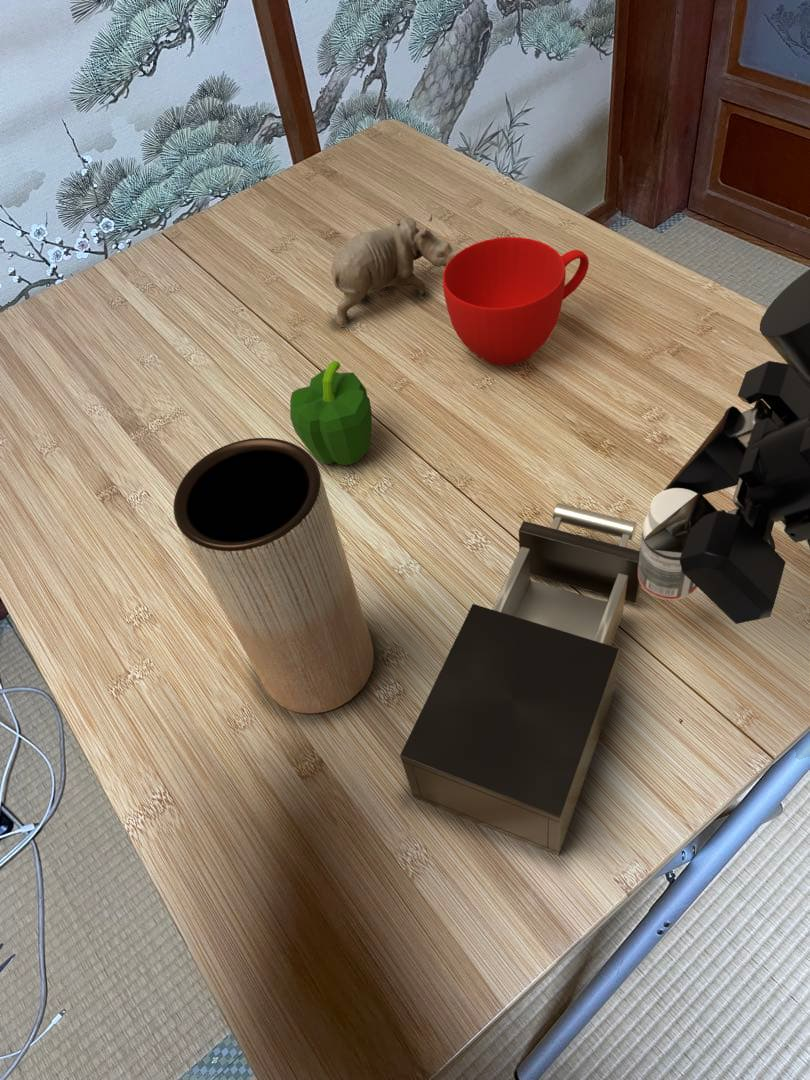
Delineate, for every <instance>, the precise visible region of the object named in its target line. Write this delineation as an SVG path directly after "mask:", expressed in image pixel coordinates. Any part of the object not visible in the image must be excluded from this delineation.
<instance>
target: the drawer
mask: <svg viewBox="0 0 810 1080" xmlns="http://www.w3.org/2000/svg"><path fill="white" fill-rule="evenodd" d="M552 520H553V521H552V522H551V525H550V527H549V526H545V525H541V524H537V523H533V522H529V521H527V520H523V521H522V523H521V525H520V527H519V530H518V546H519V547H518V548H519V550H518V552H517V555H516V556H515V558H514V560H513V563H512V565H511V567H510V570H509V571H508V574H507V576H506V578H505V581H504V582H503V585H502V587H501V588H500V591H499V594H498V596H497V597H496V600H495V603H494V604H493V606H492V610H495V611H498V612H502V613H505V614H508V615H511V616H515V617H518V618H521V619H525V620H528V621H531V622H534V623H538V624H541V625H544V626H548V627H551V628H554V629H557V630H561V631H564V632H567V633H571V634H574V635H577V636H580V637H584V638H587V639H590V640H594V641H597V642H600V643H603V644H607V645H610V646H613V642H614V639H615V636H616V633H617V630H618V628H619V626H620V622H621V620H622V617H623V614H624V610H625V603H627V602H628V603H631V604H634V605H635V604H636V603H637V601H638V598H639V595H640V591H641V584H640V582H639V579H638V563H639V554H640V550H637V549H635V548H634V549H633V548H630V547H627V546H628V544H629V541H633V539H634V537H635V534H636V530H637V522H636V521H632V520H628V519H625V518H621V517H616V516H612V515H608V514H604V513H600V512H596V511H592V510H588V509H584V508H580V507H576V506H572V505H568V504H565V503H564V504H563V503H560V502H558V503H556V505H555V507H554V510H553V513H552ZM562 524H566V525H569V526H573V527H576V528H581V529H585V530H588V531H593V532H597V533H601V534H604V535H609V536H612V537H615V538H616V537H617V538H619V539H620V540H619V542H618V544H614V543H611V542H606V541H602V540H599V539H595V538H591V537H588V536H584V535H580V534H576V533H572V532H568V531H564V530H560V527H561V525H562ZM531 575H532V576H536V577H540V578H543V579H546V580H550V581H554V582H557V583H560V584H564V585H568V586H571V587H575V588H578V589H582V590H585V591H589V592H592V593H596V594H600V595H603V596H607V597H608V600H607V601H604V600H601V599H599V598H595V597H592V596H589V595H584V594H581V593H578V592H573V591H570V590H567V589H563V588H560V587H556V586H553V585H549V584H546V583H543V582H539V581H535V580H531V579H532V578H531Z"/></svg>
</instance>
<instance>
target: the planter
mask: <svg viewBox="0 0 810 1080" xmlns="http://www.w3.org/2000/svg"><path fill="white" fill-rule="evenodd" d="M330 503H331V502H330V501H329V497H328V493H327V491H326V487H325V484H324V481H323V478H322V474H321V471H320V469H319V466H318V464H317V463H316V461H315V459H314V458H313V457H312V456H311V454H309V452H307V451H306V450H305V449H303V448H302V447H301V446H299V445H297V444H295V443H293V442H290V441H287V440H284V439H280V438H273V437H255V438H254V437H253V438H246V439H242V440H238V441H234V442H231V443H229V444H226V445H223V446H221V447H218V448H216V449H215V450H213V451H211V452H210V453H208V454H206V455H205V456H204V457H203V458H201V459H200V460H198V461H197V462H196V463H195V464H194V465H193V466H192V467H191V468H190V469H189V470H188V471H187V472H186V474H185V475H184V477H183V478H182V479H181V481H180V483H179V485H178V487H177V489H176V492H175V495H174V498H173V506H172V507H173V508H172V509H173V517H174V521H175V523H176V526H177V528H178V530H179V532H180V534H181V536H182V537H183V539H184V542H185V544H186V545H187V547H188V548H189V551H190V552H191V555H192V556H193V558H194V560H195V561H196V563H197V566H198V567H199V569H200V571H201V572H202V575H203V576H204V578H205V580H206V582H207V584H208V586H209V588H210V589H211V591H212V593H213V595H214V597H215V599H216V601H217V602H218V604H219V606H220V608H221V610H222V611H223V613H224V615H225V617H226V619H227V621H228V623H229V625H230V626H231V628H232V630H233V632H234V634H235V635H236V638H237V640H238V641H239V643H240V645H241V646H242V649H243V651H244V652H245V654H246V656H247V658H248V660H249V662H250V664H251V665H252V667H253V670H254V671H255V673H256V675H257V677H258V678H259V680H260V682H261V684H262V685H263V687H264V689H265V690H266V691H267V693H268V695H269V696H270V697H271V698H272V699H273V700H274V701H275V702H276V703H277V704H279V705H280V706H281V707H283V708H285V709H287V710H289V711H292V712H295V713H301V714H319V713H324V712H328V711H329V712H330V711H331V710H335V709H337V708H340V707H341V706H343V705H345V704H346V703H348V702H349V701H351V700H352V699H353V698H355V697H356V695H358V693H360V692H361V690H362V689H363V688H364V686H365V685H366V683H367V681H368V680H369V677H370V676H371V673H372V670H373V667H374V661H375V660H374V659H375V658H374V657H375V655H374V646H373V642H372V637H371V634H370V631H369V627H368V625H367V624H368V623H367V621H366V617H365V615H364V611H363V608H362V605H361V602H360V598H359V595H358V592H357V588H356V585H355V582H354V578H353V576H352V575H353V574H352V572H351V569H350V565H349V562H348V559H347V556H346V552H345V549H344V546H343V542H342V540H341V539H342V538H341V536H340V533H339V530H338V526H337V523H336V520H335V517H334V516H335V515H334V513H333V510H332V507H331V504H330Z"/></svg>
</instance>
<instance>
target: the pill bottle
mask: <svg viewBox="0 0 810 1080" xmlns="http://www.w3.org/2000/svg"><path fill="white" fill-rule="evenodd" d="M695 495H697V493H695V492H693V491H691V490H688V489H683V488H672V489H667V490H664V489H663V490H662V491H660V492H658V493H657V494H656V495H655V496H654V497H653V499H652V500H651V502H650V505H649V510H648V513H647V515H646V516H645V518H644V519H643V522H642V529H641V535H640V547H639V551H640V554H639V563H638V579H639V582H640V584H641V585H640V587H641V588H643V590H644V591H645V592H646V593H648V594H649V595H650V596H652V597H654V598H657V599H659V600H663V601H678V600H682V599H685V598H687V597H689V596H691V595H693V594H694V593H695V592H696V590H697V589H698V587H697V586H696V585H695V584H694V583H693V582H692V581H691V580H690V579H689V578H688V577H687V576H686V575H685V574H684V573H683V571H682V568H681V564H680V560H679V559H680V557H681V554H682V553H677V552H668V551H659V550H653V549H652V548H650V547H649V546H648V545H647V544H646V543H645V541H644V540H645V537H646V536H647V535H648V534H649V533H650V532H651V531H652V530H654V529H655V528H656V527H657V526H658V525H659V524H661V523H662V522H663V521H664V520H666V519H667V518H668V517H669V516H671V515H672V514H673V513H674V512H676V511H677V510H678V509H679V508H681V507H682V506H683V505H684V504H685V503H687V502H688V501H689V500H690V499H692V498H693V497H694V496H695Z"/></svg>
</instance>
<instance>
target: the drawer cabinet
mask: <svg viewBox="0 0 810 1080" xmlns="http://www.w3.org/2000/svg"><path fill="white" fill-rule="evenodd" d="M492 609H493V608H492ZM492 609H491V608H488V607H486V606H481V605H479V604H475V603H472V604H471V606H470V608H469V610H468V612H467V615H466V617H465V619H464V621H463V623H462V626H461V627H460V629H459V631H458V633H457V635H456V638H455V640H454V642H453V644H452V645H451V648H450V650H449V652H448V654H447V657H446V659H445V661H444V663H443V664H442V667H441V669H440V671H439V673H438V675H437V677H436V679H435V681H434V684H433V686H432V687H431V690H430V692H429V694H428V696H427V699H426V700H425V703H424V704H423V707H422V709H421V710H420V713H419V715H418V717H417V719H416V721H415V723H414V725H413V728H412V729H411V732H410V734H409V736H408V738H407V740H406V742H405V744H404V747H403V748H402V751H401V753H400V755H399V757H400V760H401V763H402V766H403V769H404V773H405V775H406V779H407V781H408V785H409V789H410V790H411V791H410V792H411V794H412V797H413V798H415V799H417V800H419V801H422V802H424V803H426V804H429V805H432V806H435V807H436V808H439V809H442V810H444V811H446V812H449V813H452V814H454V815H457V816H458V817H462V818H464V819H467V820H468V821H471V822H474V823H476V824H478V825H482V826H484V827H486V828H489V829H491V830H494V831H496V832H498V833H501V834H503V835H506V836H509V837H511V838H513V839H516V840H519V841H522V842H523V843H526V844H529V845H531V846H533V847H536V848H538V849H541V850H544V851H545V852H548V853H551V854H553V855H556V856H559V855H560V853H561V850H562V847H563V845H564V841H565V839H566V835H567V832H568V829H569V826H570V823H571V820H572V817H573V815H574V812H575V810H576V809H575V808H576V806H577V803H578V799H579V797H580V795H581V791H582V789H583V785H584V782H585V780H586V776H587V773H588V770H589V768H590V766H591V762H592V758H593V756H594V753H595V750H596V748H597V745H598V741H599V739H600V736H601V732H602V729H603V727H604V723H605V721H606V718H607V716H608V715H607V714H608V711H609V709H610V706H611V703H612V700H613V696H614V689H615V680H616V673H617V666H618V659H619V654H620V653H619V651H620V648H619V647H617V646H614V645H611V646H610V645H607V644H603V643H600V642H597V641H594V640H590V639H587V638H584V637H580V636H577V635H574V634H571V633H567V632H564V631H561V630H557V629H554V628H551V627H548V626H544V625H541V624H538V623H534V622H531V621H528V620H525V619H521V618H518V617H515V616H511V615H508V614H505V613H502V612H498V611H495V610H492Z"/></svg>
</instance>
